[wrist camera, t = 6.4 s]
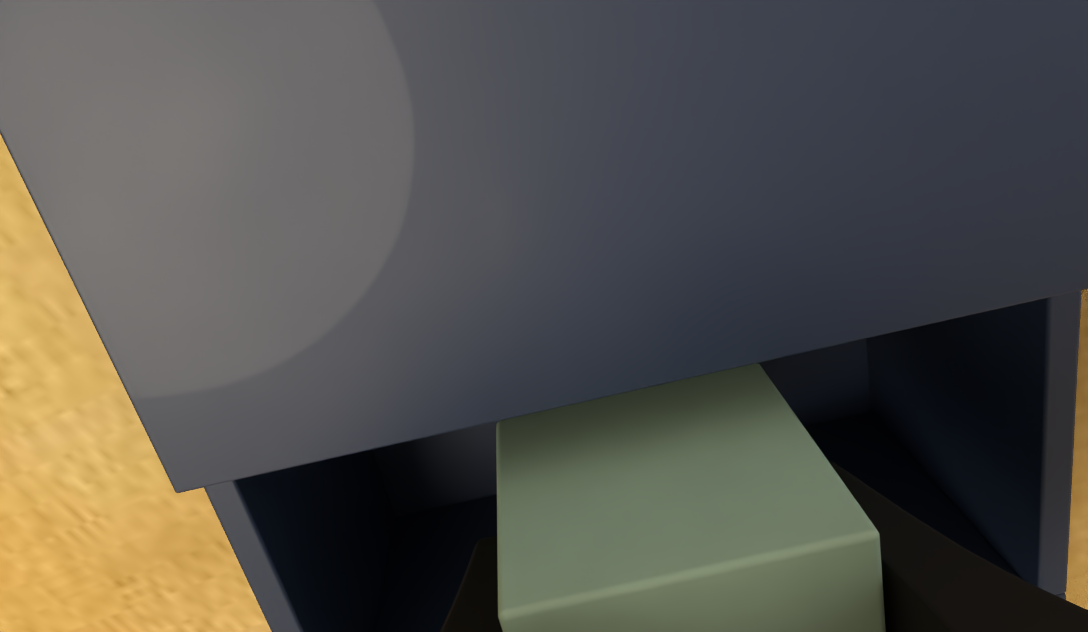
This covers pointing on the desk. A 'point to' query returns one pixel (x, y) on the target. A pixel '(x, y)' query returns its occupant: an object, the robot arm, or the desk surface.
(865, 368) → the carton
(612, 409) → the block
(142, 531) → the desk surface
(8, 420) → the desk surface
